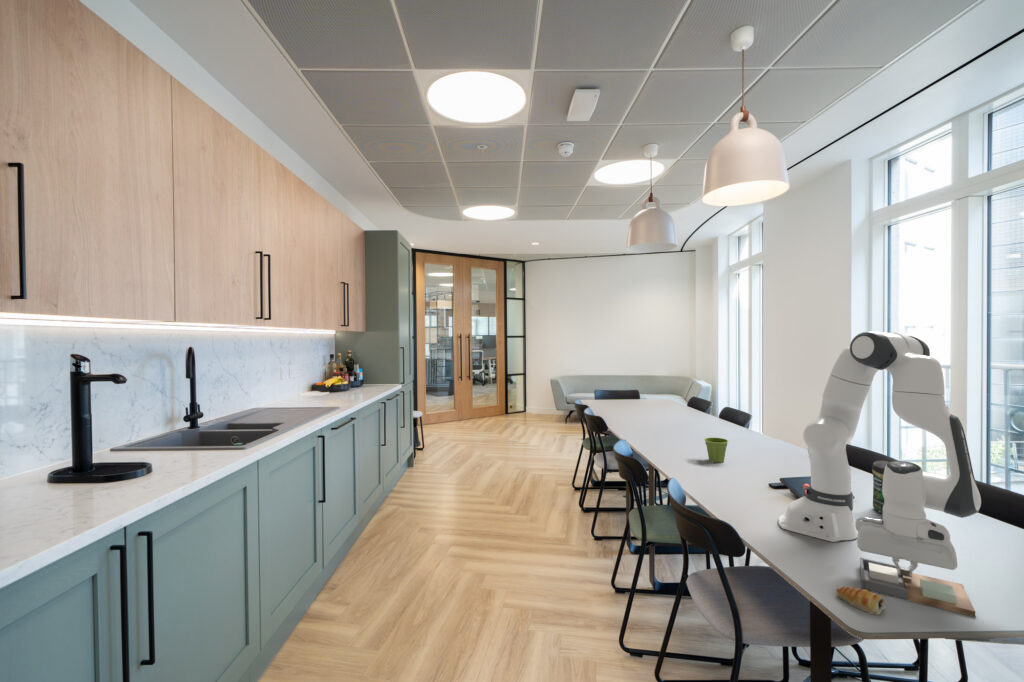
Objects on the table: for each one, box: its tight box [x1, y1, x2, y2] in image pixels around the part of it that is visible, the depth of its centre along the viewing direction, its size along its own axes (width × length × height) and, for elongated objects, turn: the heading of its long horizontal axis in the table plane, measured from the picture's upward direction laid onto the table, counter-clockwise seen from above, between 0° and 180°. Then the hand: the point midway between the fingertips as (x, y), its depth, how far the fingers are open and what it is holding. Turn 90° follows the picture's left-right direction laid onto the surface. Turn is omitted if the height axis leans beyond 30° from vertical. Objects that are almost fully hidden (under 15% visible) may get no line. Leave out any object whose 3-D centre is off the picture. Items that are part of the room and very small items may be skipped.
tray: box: [859, 557, 908, 601], centre depth 121 cm, size 9×14×2 cm, turn 144°
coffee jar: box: [871, 460, 890, 515], centre depth 166 cm, size 10×8×19 cm
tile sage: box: [920, 579, 956, 604], centre depth 113 cm, size 6×5×2 cm
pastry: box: [836, 586, 887, 616], centre depth 112 cm, size 9×7×4 cm
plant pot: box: [703, 436, 730, 464], centre depth 237 cm, size 12×12×11 cm
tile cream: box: [869, 563, 899, 584], centre depth 123 cm, size 6×5×2 cm
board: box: [902, 572, 976, 618], centre depth 115 cm, size 12×14×1 cm
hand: (904, 575), depth 121 cm, fingers closed
